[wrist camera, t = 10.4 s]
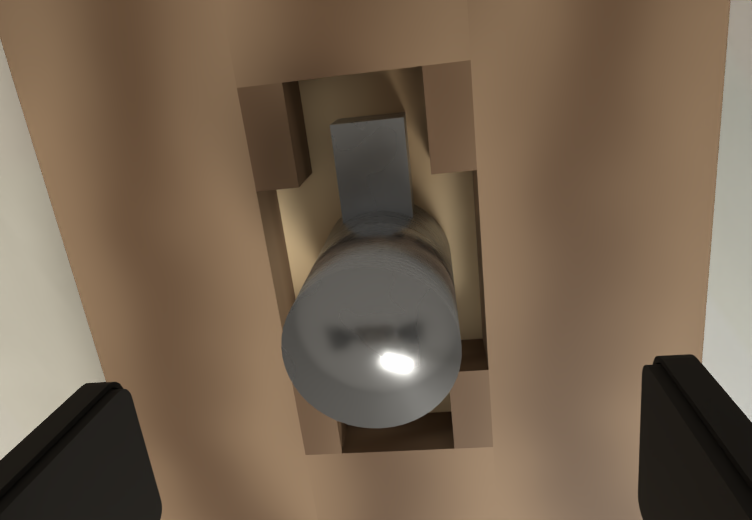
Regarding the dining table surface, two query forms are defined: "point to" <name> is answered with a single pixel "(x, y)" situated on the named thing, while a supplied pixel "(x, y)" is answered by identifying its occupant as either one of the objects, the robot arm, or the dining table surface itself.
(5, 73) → the dining table surface
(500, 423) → the socket plate
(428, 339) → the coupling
